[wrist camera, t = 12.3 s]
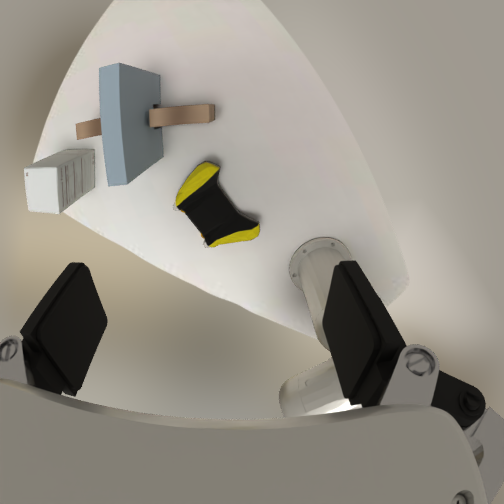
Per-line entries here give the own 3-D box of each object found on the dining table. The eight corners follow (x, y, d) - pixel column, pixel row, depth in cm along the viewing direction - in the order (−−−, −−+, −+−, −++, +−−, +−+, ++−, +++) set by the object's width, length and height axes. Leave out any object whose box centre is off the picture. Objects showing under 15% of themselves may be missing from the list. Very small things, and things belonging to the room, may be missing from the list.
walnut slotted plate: (214, 104, 37) (208, 104, 30) (214, 119, 39) (209, 122, 32) (99, 118, 37) (75, 123, 30) (100, 132, 38) (77, 139, 31)
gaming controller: (214, 152, 42) (166, 186, 44) (210, 158, 37) (158, 196, 39) (263, 222, 48) (217, 249, 51) (266, 236, 43) (215, 266, 46)
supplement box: (65, 186, 42) (27, 212, 31) (64, 148, 38) (22, 166, 27) (96, 188, 43) (59, 215, 32) (96, 148, 39) (56, 166, 28)
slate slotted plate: (163, 156, 41) (127, 184, 27) (149, 158, 41) (108, 186, 27) (160, 75, 34) (119, 62, 20) (145, 77, 34) (99, 68, 20)
